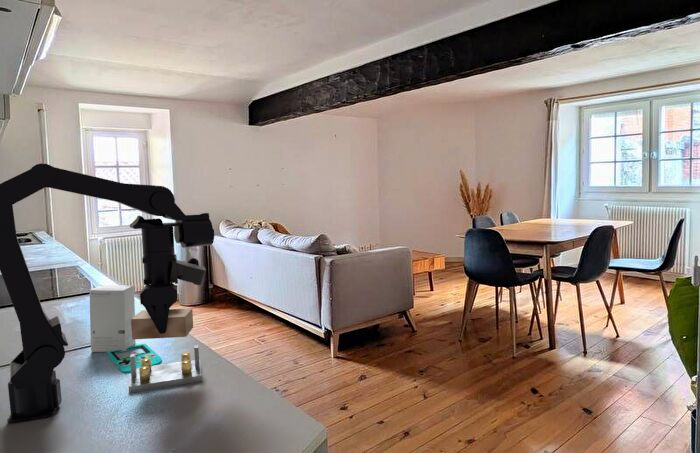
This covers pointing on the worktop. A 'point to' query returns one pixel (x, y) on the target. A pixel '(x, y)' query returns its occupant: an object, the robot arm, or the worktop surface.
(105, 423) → the worktop surface
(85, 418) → the worktop surface
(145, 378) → the chassis
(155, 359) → the handheld gaming console
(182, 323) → the tan block
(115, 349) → the skincare box
